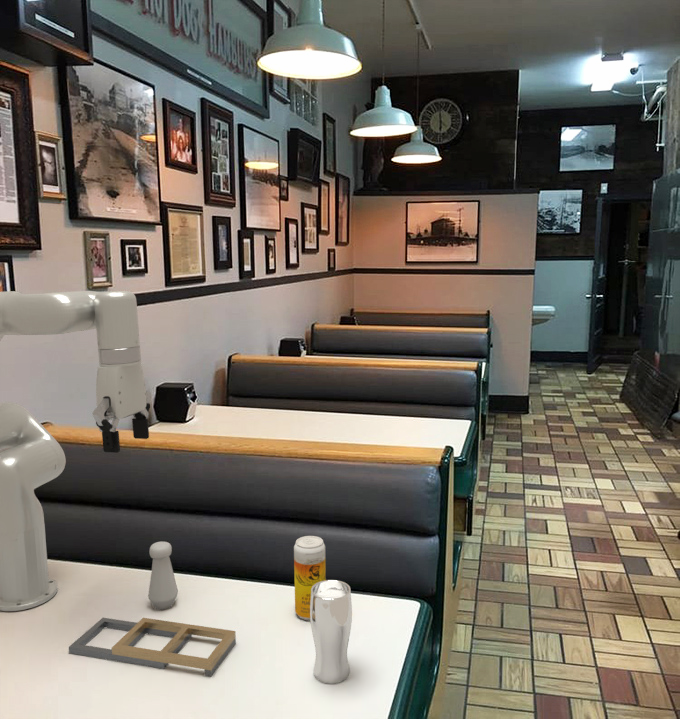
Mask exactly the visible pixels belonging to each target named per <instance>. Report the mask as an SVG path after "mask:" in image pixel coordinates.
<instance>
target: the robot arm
mask: <svg viewBox="0 0 680 719" xmlns="http://www.w3.org/2000/svg"><path fill="white" fill-rule="evenodd" d="M137 305H138V303H137V297H136V295H135V294H134V293H133V292H132V291H129V290H114V291H113V290H112V291H111V290H110V291H108V290H107V291H94V290H73V291H61V292H60V291H59V292H58V291H57V292H47V293H45V292H44V293H21V292H20V291H14V290H13V291H8V290H7V291H0V341H1V340H2V339H3V338H4V337H5V336H46V335H49V336H50V335H51V336H52V335H64V334H65V335H66V334H70V333H75V332H83V331H84V332H85V331H88V330H95V329H96V330H95V331H96V341H97V352H98V364H99V366H98V367H97V371H96V382H95V383H96V384H95V398H96V407H95V409H94V410H93V411H92V417H93V418H94V421H95V425H96V426H97V428H99V429H98V430H99V432H101V438H102V439H101V440H102V448H103V449H102V450H103V452H104V453H116V454H117V453H119V452H120V451H121V447H120V446H121V444H120V433H119V430H117V428H118V425H119V422H120V420H123V419H125V418H128V417H130V416H133V418H131V420H132V433H133V434H132V436H133V438H134V439H138V440H139V439H141V440H147V439H150V433H149V432H150V430H149V418H150V413H149V411H150V408H151V398H152V393H150V392H148V391H147V390H146V381H145V375H144V369H143V365H142V354H141V346H140V345H141V344H140V343H141V342H140V333H139V332H140V330H139V329H140V328H139V317H138V306H137ZM110 421H112V422H111V423H110ZM2 450H3V451H2ZM66 460H67V459H66V455H65V451H64V450H63V448H62V446H61V445H60V443H59V442H58V441H57V439H56V438H55V437H53V435H52V434H51V433H50V432H49V431H48V429H47V428H45V427H44V425H43V424H42V423H41V422H40V421H39V420H38V419H37V418H36V416H34V415H33V413H31V411H30V410H28V409H27V408H25V407H24V406H23V405H21V404H18V403H14V402H9V401H7V402H6V401H5V402H0V611H1V612H19V611H23V610H27V609H28V610H29V609H31V608H36V607H38V606H40V605H42V604H44V603H47V602H48V601H50V600H51V599H52V598H53V597H54V596H55V595H56V594H57V592H58V583H57V582H56V580H55V579H52V578H50V577H49V568H48V566H49V565H48V552H47V542H46V540H47V539H46V527H45V526H46V524H45V517H44V516H45V515H44V510H43V506H42V503H40V500H39V499H38V497H37V496H36V494H35V490H36V489H37V488H39V487H41V486H42V485H44V484H46V483H49V482H51V481H52V480H55V479H56V478H58V477H59V476H60V475H61V474H62V473H63V471H64V469H65V468H66V467H65V466H66V463H67V461H66Z"/></svg>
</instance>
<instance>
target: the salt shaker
mask: <svg viewBox="0 0 680 719" xmlns="http://www.w3.org/2000/svg"><path fill="white" fill-rule="evenodd" d="M172 549H173V547H172V545H171V543H169V542H167V541H157V542H154V543H152V544H151V545H150V547H149V557H150V558H151V559H152V564H151V573H150V578H149V579H150V580H149V585H148V586H149V587H148V594H147V597H148V600H149V601H150V603H151V605H152V607H153V609H154V610H159V611H164V610H167V609H170V608H172V606H173V605H174V604H175V601H176V599H177V597H178V594H179V593H178V592H179V589H178V585H177V583H176V578H175V574H174V569H173V565H172V562H171V558H170V556H171V555H172V552H173V550H172Z"/></svg>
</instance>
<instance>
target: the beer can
mask: <svg viewBox="0 0 680 719" xmlns="http://www.w3.org/2000/svg"><path fill="white" fill-rule="evenodd" d="M293 563H294V564H293V570H294V572H293V573H294V611H295V614H296V615H297V616H298V618H300V619H301V620H304V621H310V601H311V588H312V586H313V585H314V584H316V583H318V582H321V581H325V580H327V577H326V574H327V573H326V571H327V569H326V544H325V543H324V539H322V537H320V536H316V535H305V536H301V537H299V538H297V539H296V541H295V543H294V546H293Z"/></svg>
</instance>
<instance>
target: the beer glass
mask: <svg viewBox="0 0 680 719" xmlns="http://www.w3.org/2000/svg"><path fill="white" fill-rule="evenodd" d="M351 589H352V588H351V586H350V585H349V584H348V583H346V582H345V581H342V580H337V579H326V580H325V581H321V582H318V583H316V584H314V585H313V586H312V588H311V601H310V620H309V621H310V626H311V628H310V629H311V633H312V634H311V635H312V638H313V643H314V648H315V660H314V664H313V665H314V666H313V676H314V677H315V679H316V680H318V681H319V682H321V683H322V684H323V683H324V684H328V685H334V684H335V685H336V684H340V683H342V682H344V681H346V680H347V679H348V678H349V676H350V672H351V670H350V664H349V658H348V647H349V641H350V636H351V630H352V623H353V622H352V621H353V604H352V595H351Z"/></svg>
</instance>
